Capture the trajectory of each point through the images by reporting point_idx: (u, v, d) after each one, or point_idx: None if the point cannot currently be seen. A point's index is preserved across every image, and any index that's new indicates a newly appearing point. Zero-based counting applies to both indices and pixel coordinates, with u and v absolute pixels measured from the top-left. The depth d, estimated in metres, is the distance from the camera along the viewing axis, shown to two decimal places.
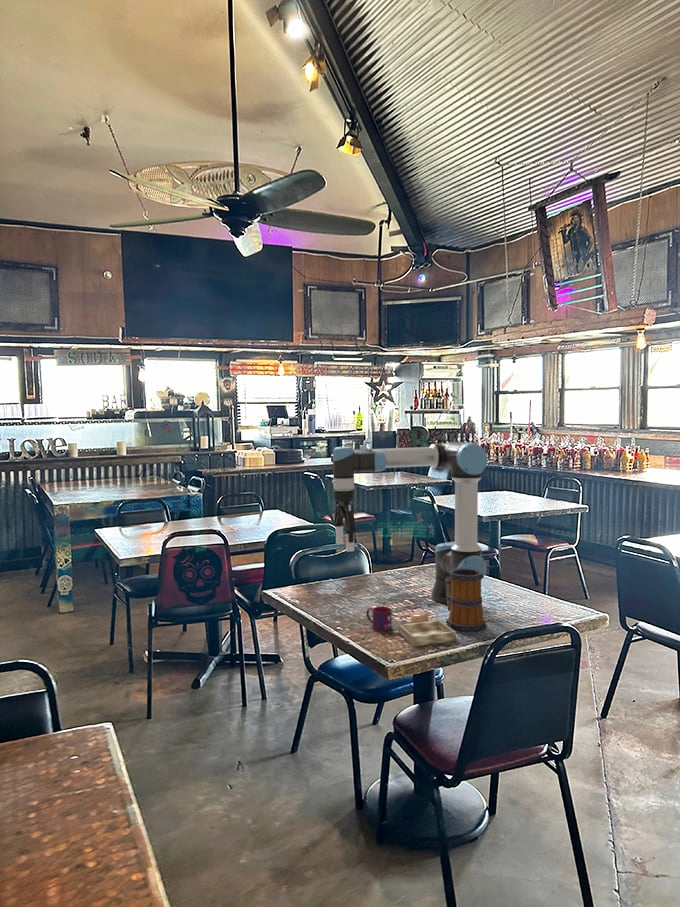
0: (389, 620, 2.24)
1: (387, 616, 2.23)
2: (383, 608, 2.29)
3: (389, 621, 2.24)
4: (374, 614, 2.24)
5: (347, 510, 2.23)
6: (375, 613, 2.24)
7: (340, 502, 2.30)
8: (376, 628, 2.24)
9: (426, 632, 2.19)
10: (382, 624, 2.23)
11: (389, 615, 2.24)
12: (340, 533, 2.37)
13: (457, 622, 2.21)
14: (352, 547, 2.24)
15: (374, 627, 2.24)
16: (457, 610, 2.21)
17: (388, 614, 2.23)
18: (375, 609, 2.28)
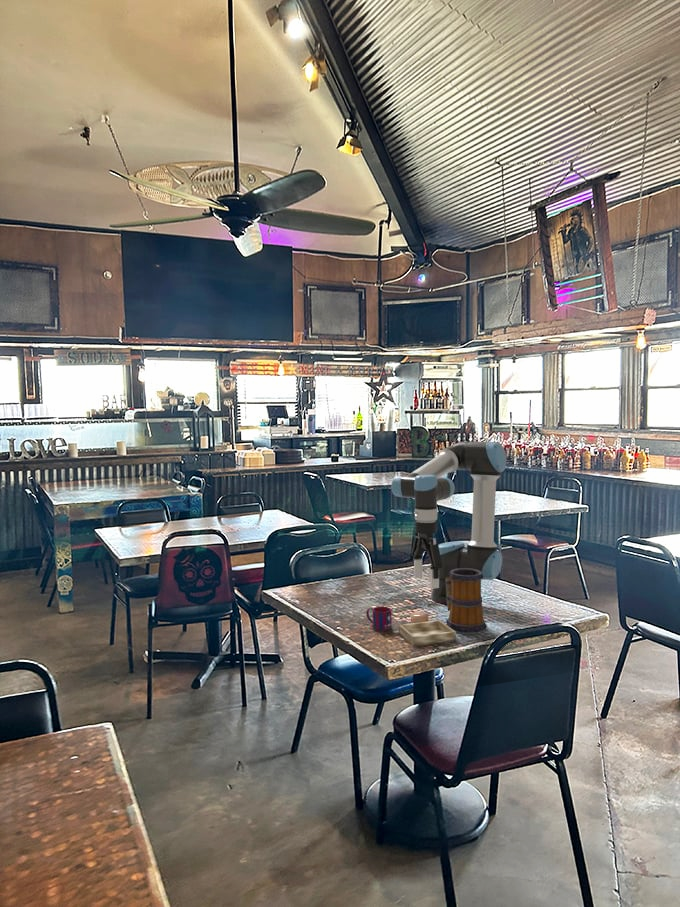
0: (389, 620, 2.24)
1: (387, 616, 2.23)
2: (383, 608, 2.29)
3: (389, 621, 2.24)
4: (374, 614, 2.24)
5: (432, 544, 2.07)
6: (375, 613, 2.24)
7: (421, 534, 2.15)
8: (376, 628, 2.24)
9: (426, 632, 2.19)
10: (382, 624, 2.23)
11: (389, 615, 2.24)
12: (419, 566, 2.21)
13: (457, 622, 2.21)
14: (437, 584, 2.08)
15: (374, 627, 2.24)
16: (457, 610, 2.21)
17: (388, 614, 2.23)
18: (375, 609, 2.28)
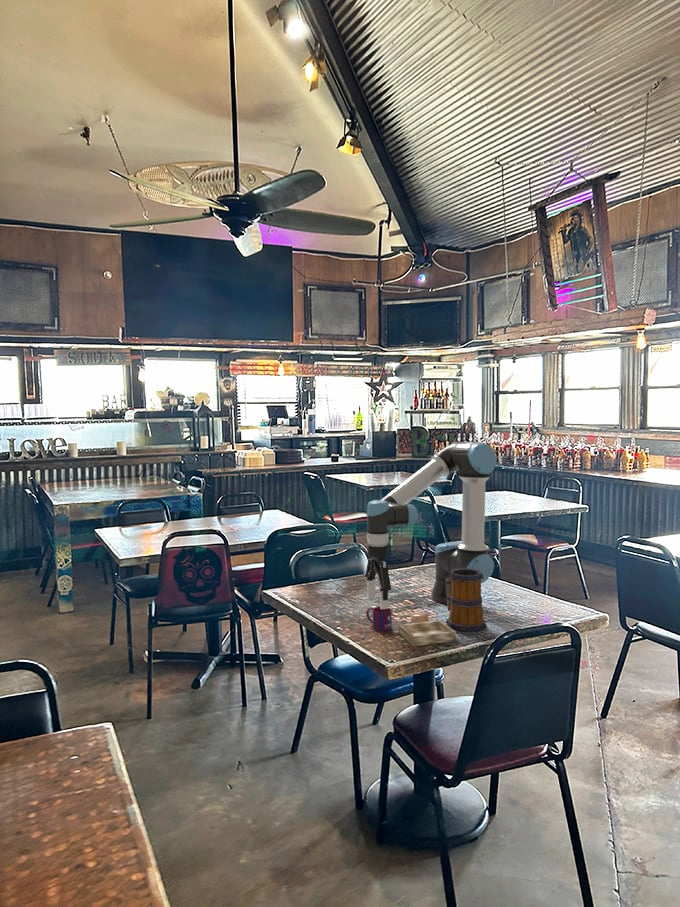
0: (389, 620, 2.24)
1: (387, 616, 2.23)
2: None
3: (389, 621, 2.24)
4: (374, 614, 2.24)
5: (382, 567, 2.19)
6: (375, 613, 2.24)
7: (373, 557, 2.26)
8: (376, 628, 2.24)
9: (426, 632, 2.19)
10: (382, 624, 2.23)
11: (389, 615, 2.24)
12: (372, 587, 2.33)
13: (457, 622, 2.21)
14: (386, 605, 2.20)
15: (374, 627, 2.24)
16: (457, 610, 2.21)
17: (388, 614, 2.23)
18: (375, 609, 2.28)
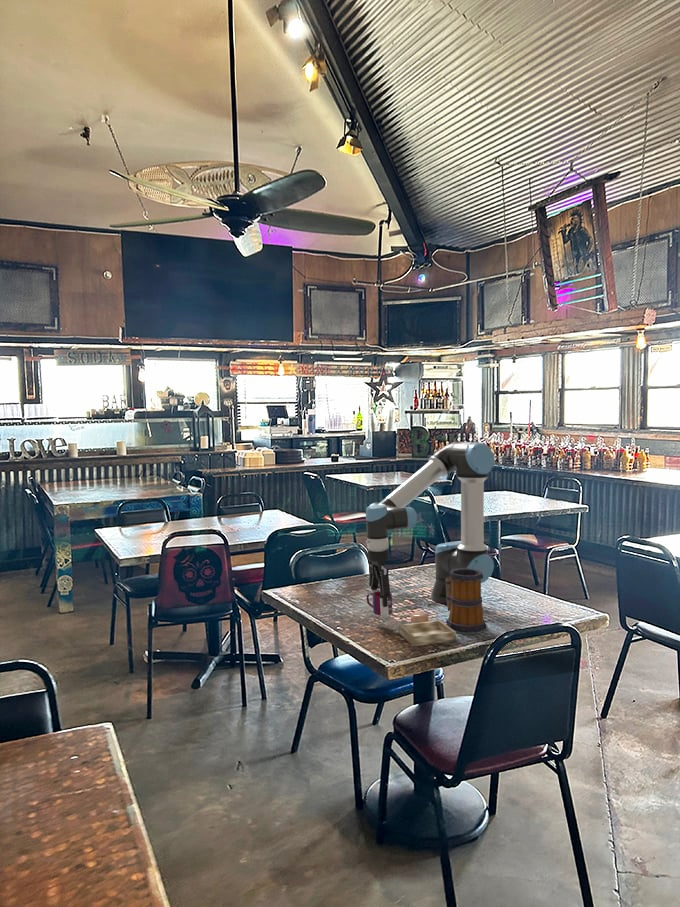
0: (390, 604, 2.24)
1: (388, 600, 2.24)
2: None
3: (390, 605, 2.24)
4: (375, 599, 2.25)
5: (382, 574, 2.20)
6: (376, 598, 2.24)
7: None
8: (377, 612, 2.24)
9: (426, 632, 2.19)
10: None
11: (390, 599, 2.24)
12: None
13: (457, 622, 2.21)
14: (386, 611, 2.23)
15: (375, 612, 2.25)
16: (457, 610, 2.21)
17: (389, 598, 2.24)
18: (375, 594, 2.28)
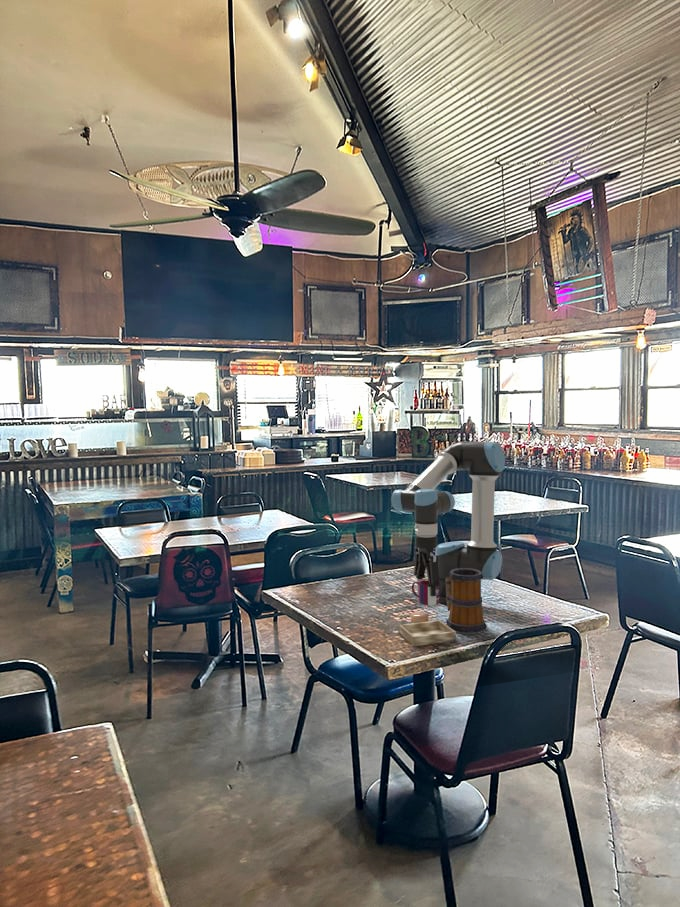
0: (437, 594, 2.13)
1: (436, 589, 2.12)
2: None
3: (437, 595, 2.13)
4: (421, 587, 2.13)
5: (432, 562, 2.08)
6: (423, 586, 2.12)
7: None
8: (424, 602, 2.12)
9: (426, 632, 2.19)
10: None
11: (437, 588, 2.13)
12: None
13: (457, 622, 2.21)
14: (434, 601, 2.11)
15: (421, 601, 2.13)
16: (457, 610, 2.21)
17: (436, 587, 2.12)
18: (421, 583, 2.16)
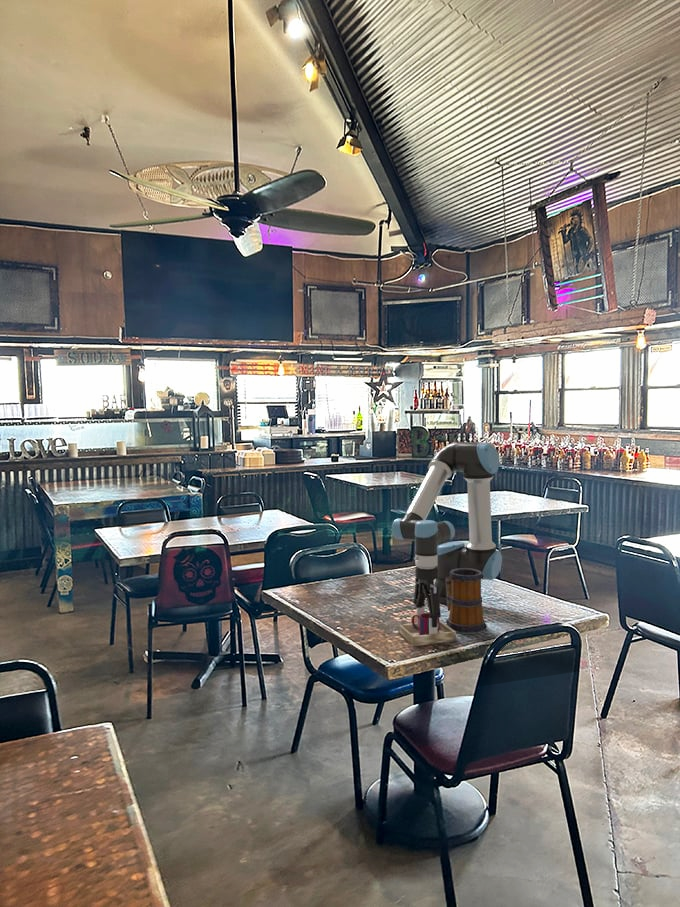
0: (437, 627, 2.14)
1: None
2: (429, 615, 2.18)
3: (437, 628, 2.14)
4: (422, 621, 2.14)
5: (432, 593, 2.09)
6: (423, 620, 2.13)
7: None
8: None
9: None
10: None
11: (438, 622, 2.13)
12: None
13: (457, 622, 2.21)
14: (435, 632, 2.11)
15: None
16: (457, 610, 2.21)
17: (437, 621, 2.13)
18: (421, 616, 2.17)
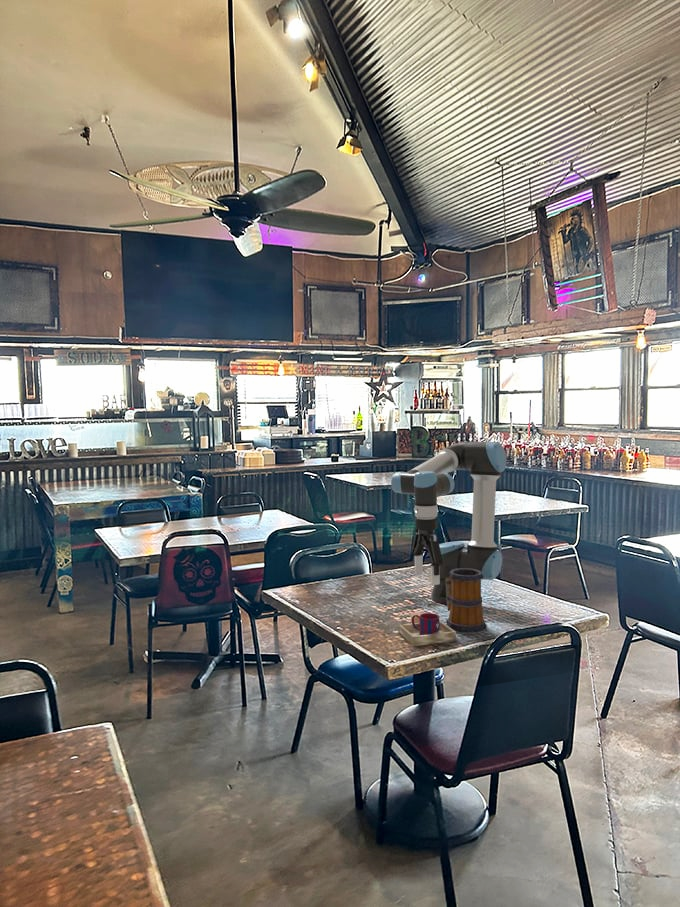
0: (437, 627, 2.14)
1: (436, 623, 2.13)
2: (429, 615, 2.18)
3: (437, 628, 2.14)
4: (422, 621, 2.14)
5: (432, 540, 2.07)
6: (423, 620, 2.13)
7: (422, 531, 2.15)
8: None
9: None
10: (431, 632, 2.12)
11: (437, 622, 2.13)
12: (419, 563, 2.21)
13: (457, 622, 2.21)
14: (437, 580, 2.09)
15: None
16: (457, 610, 2.21)
17: (437, 621, 2.13)
18: (421, 616, 2.17)
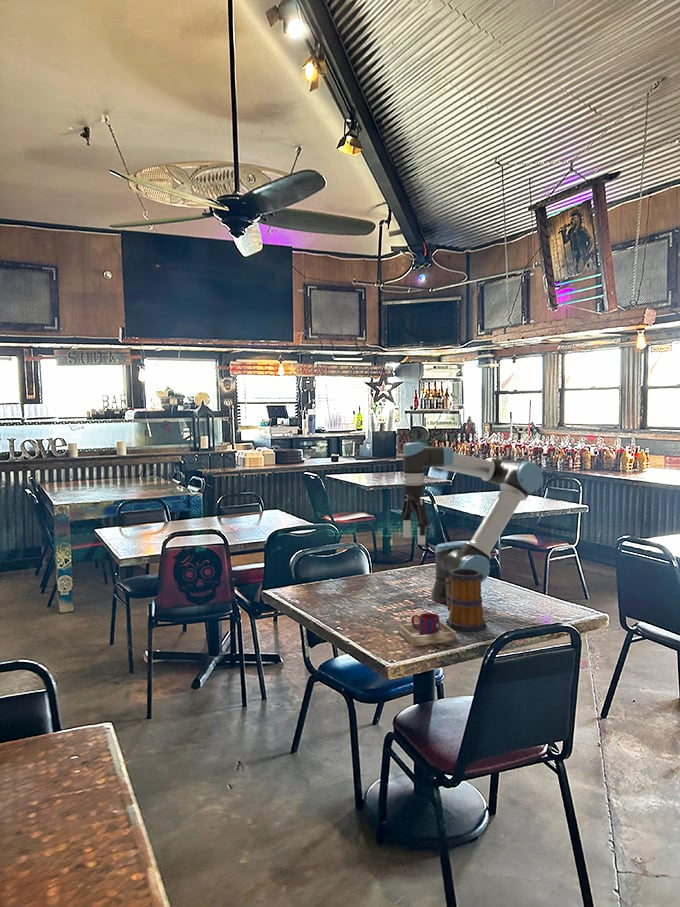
0: (437, 627, 2.14)
1: (436, 623, 2.13)
2: (429, 615, 2.18)
3: (437, 628, 2.14)
4: (422, 621, 2.14)
5: (419, 504, 2.29)
6: (423, 620, 2.13)
7: (410, 496, 2.36)
8: None
9: None
10: (431, 632, 2.12)
11: (437, 622, 2.13)
12: (408, 527, 2.43)
13: (457, 622, 2.21)
14: (423, 540, 2.30)
15: None
16: (457, 610, 2.21)
17: (437, 621, 2.13)
18: (421, 616, 2.17)
